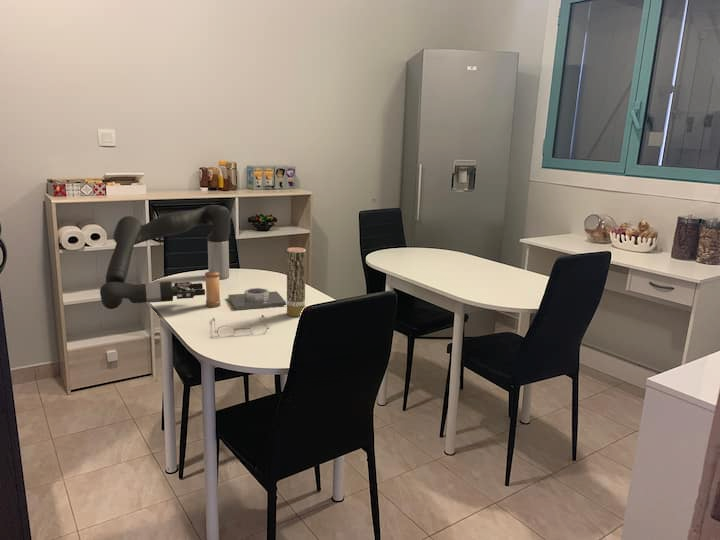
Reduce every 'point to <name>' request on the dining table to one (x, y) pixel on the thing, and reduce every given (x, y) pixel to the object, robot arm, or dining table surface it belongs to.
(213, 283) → the capped orange cylinder
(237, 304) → the plate
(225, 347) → the dining table surface
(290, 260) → the paper tube
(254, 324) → the eyeglasses
